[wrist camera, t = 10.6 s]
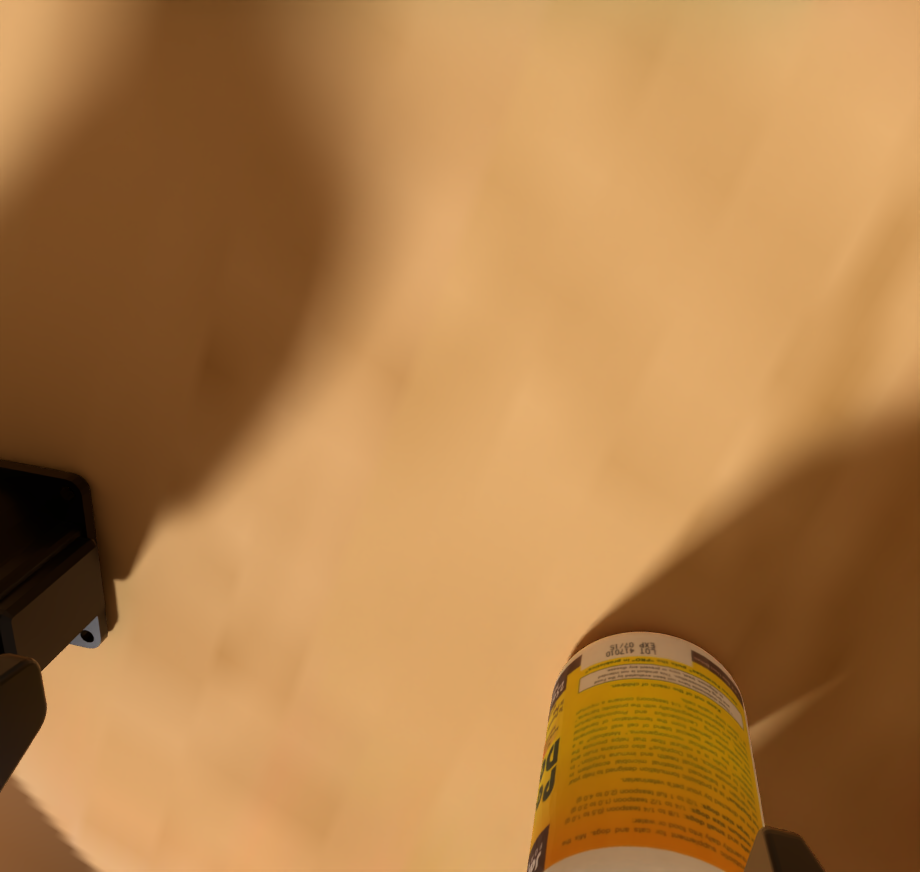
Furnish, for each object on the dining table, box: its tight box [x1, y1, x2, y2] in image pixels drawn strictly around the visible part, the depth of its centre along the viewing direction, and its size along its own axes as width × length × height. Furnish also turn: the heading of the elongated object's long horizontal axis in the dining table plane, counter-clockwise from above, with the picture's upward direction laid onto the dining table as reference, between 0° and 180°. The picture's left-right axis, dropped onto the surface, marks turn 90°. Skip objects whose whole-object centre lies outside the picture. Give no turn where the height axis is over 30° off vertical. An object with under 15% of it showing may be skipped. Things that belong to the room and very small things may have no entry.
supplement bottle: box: [527, 632, 765, 872], centre depth 19 cm, size 6×6×10 cm
